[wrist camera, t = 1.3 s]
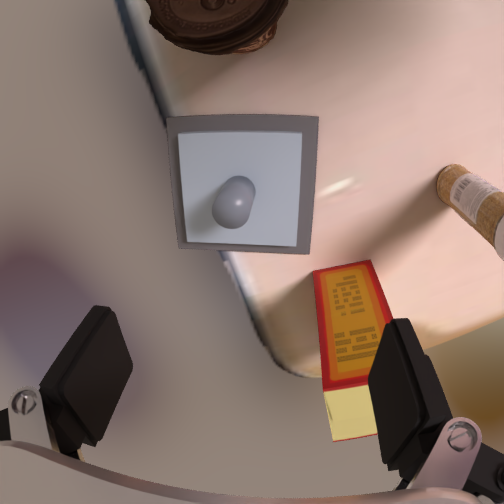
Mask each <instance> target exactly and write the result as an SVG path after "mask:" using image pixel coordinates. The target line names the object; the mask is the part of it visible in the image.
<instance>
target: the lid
mask: <svg viewBox="0 0 504 504" xmlns="http://www.w3.org/2000/svg"><path fill="white" fill-rule="evenodd" d="M178 142H179V157H180V170H181V183H182V194H183V205H184V215H185V225H186V234H187V242H204V243H228V244H252V245H275V246H296V243H297V228H298V212H299V194H300V174H301V150H302V132H290V131H197V132H181V133H179V134H178Z"/></svg>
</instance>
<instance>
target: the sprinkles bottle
mask: <svg viewBox="0 0 504 504" xmlns="http://www.w3.org/2000/svg"><path fill="white" fill-rule="evenodd" d="M437 192H438V196H439V197H440V199H441V200H442V201H443V202H444V203H446V204H447V205H449V206H450V207H451V208H453V209H454V211H455V212H456V213H457V214H458V215H459V216H460V217H461V218H462V219H464V220H465V221H466V222H467V223H468V224H469V225H470V226H472V227H473V228H474V229H475V230H476V231H477V232H478V233H480V234H481V235H482V236H483V237H484V238H485V239H486V240H487V241H488V242H489V243H490V244H491V245H492V246H493V247H494V249H495V250H496V252H497V254H498V255H499V257H500V258H501V259H502V260H503V261H504V192H503V191H501V190H500V189H498V188H497V187H495V186H493V185H492V184H490V183H489V182H487V181H486V180H484V179H482V178H481V177H479V176H477V175H475V174H473V173H471V172H469V171H468V170H467V169H466V168H465V167H463V166H461V165H457V164H454V165H450V166H447V167H446V168H445V169H444V170H443V171H442V172H441V173H440V175H439V177H438V180H437Z"/></svg>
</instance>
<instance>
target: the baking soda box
mask: <svg viewBox="0 0 504 504" xmlns="http://www.w3.org/2000/svg"><path fill="white" fill-rule="evenodd" d="M313 279H314V289H315V298H316V308H317V319H318V330H319V342H320V355H321V369H322V384H323V393H324V397H325V402H326V407H327V412H328V417H329V422H330V427H331V432H332V437H333V442H337V441H344V440H350V439H356V438H362V437H367V436H372V435H377V434H378V433H377V427H376V422H375V417H374V411H373V406H372V401H371V396H370V392H369V387H368V375H369V372H370V369H371V367H372V364H373V361H374V358H375V355H376V352H377V349H378V346H379V343H380V340H381V337H382V333H383V330H384V327H385V324H386V323H390V321H391V320H392V319H393V317H392V314H391V311H390V308H389V306H388V303H387V300H386V298H385V295H384V292H383V290H382V287H381V285H380V282H379V280H378V277H377V275H376V272H375V270H374V267H373V265H372V262H371V260H366V261H361V262H356V263H351V264H346V265H341V266H336V267H331V268H325V269H320V270H315V271H313Z"/></svg>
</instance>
